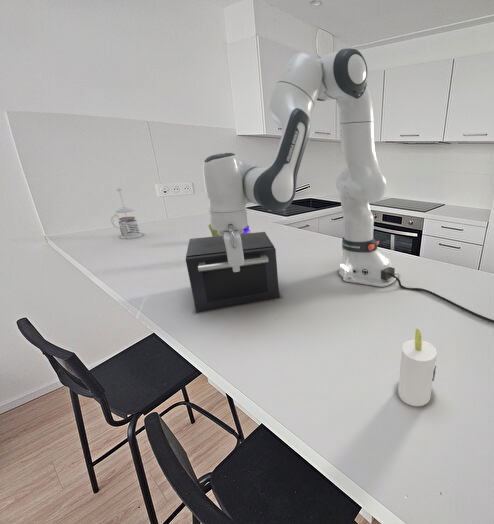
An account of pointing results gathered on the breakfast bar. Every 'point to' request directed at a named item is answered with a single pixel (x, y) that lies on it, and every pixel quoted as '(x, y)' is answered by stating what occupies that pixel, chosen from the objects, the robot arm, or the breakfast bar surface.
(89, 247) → the breakfast bar surface
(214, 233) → the plant pot
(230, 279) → the oven door
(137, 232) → the french press
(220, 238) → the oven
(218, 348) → the breakfast bar surface
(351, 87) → the robot arm
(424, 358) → the candle
